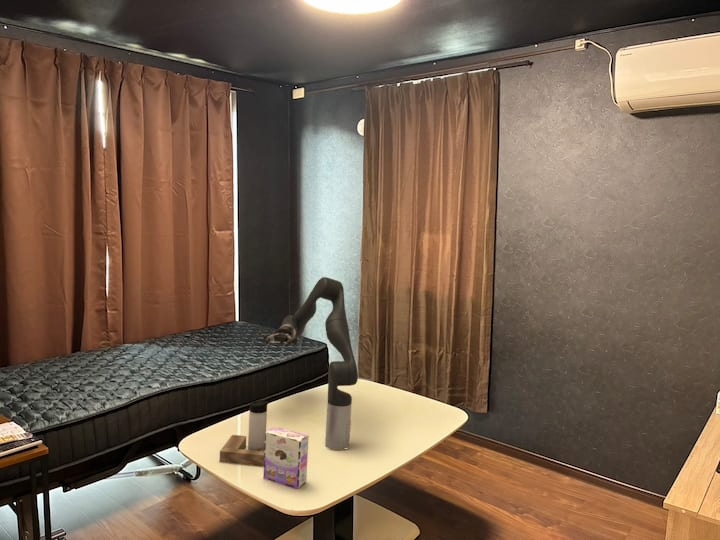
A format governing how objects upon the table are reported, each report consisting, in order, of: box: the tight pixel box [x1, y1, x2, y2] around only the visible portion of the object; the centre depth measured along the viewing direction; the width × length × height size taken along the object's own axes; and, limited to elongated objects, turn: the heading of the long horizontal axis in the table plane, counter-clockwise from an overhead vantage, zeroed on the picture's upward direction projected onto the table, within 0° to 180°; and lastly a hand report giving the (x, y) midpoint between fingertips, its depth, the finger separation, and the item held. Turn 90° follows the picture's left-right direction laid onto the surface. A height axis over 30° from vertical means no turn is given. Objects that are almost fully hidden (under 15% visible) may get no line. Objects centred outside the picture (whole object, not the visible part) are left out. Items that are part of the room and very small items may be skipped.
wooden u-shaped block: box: [218, 434, 264, 467], centre depth 197 cm, size 22×14×4 cm, turn 86°
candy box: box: [263, 426, 310, 490], centre depth 180 cm, size 14×6×16 cm, turn 65°
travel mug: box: [247, 399, 269, 451], centre depth 197 cm, size 6×7×20 cm
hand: (277, 343), depth 221 cm, fingers open, 8 cm apart
